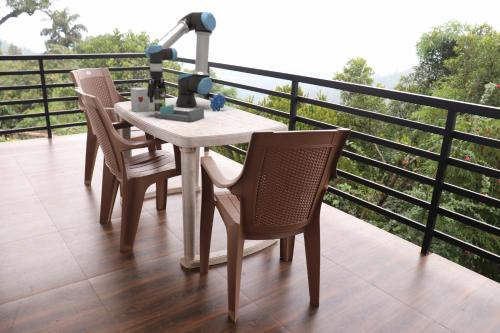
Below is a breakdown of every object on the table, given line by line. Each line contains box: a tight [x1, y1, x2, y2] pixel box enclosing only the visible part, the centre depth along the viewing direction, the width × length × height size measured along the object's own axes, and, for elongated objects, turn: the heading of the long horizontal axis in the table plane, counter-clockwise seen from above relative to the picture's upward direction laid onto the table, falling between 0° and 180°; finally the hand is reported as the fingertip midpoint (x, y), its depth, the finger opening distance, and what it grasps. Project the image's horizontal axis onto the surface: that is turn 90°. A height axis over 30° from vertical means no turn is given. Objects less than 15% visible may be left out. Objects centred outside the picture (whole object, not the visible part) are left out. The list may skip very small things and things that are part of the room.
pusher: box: [159, 104, 175, 115], centre depth 257 cm, size 2×13×6 cm, turn 158°
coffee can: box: [148, 87, 167, 113], centre depth 258 cm, size 10×10×14 cm
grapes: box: [209, 93, 227, 112], centre depth 284 cm, size 12×7×12 cm, turn 113°
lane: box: [154, 106, 205, 123], centre depth 254 cm, size 25×17×7 cm
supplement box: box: [130, 87, 150, 113], centre depth 273 cm, size 9×9×15 cm
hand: (157, 106), depth 259 cm, fingers closed on coffee can, 10 cm apart
